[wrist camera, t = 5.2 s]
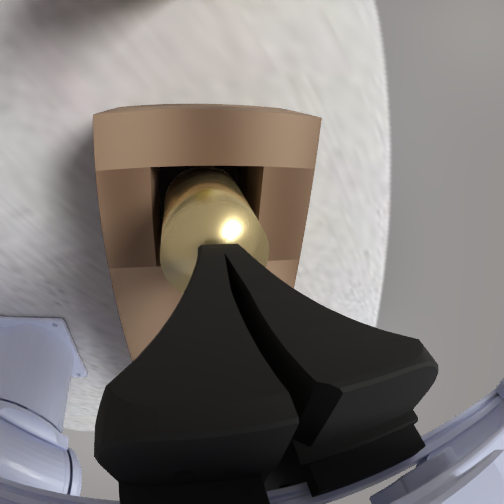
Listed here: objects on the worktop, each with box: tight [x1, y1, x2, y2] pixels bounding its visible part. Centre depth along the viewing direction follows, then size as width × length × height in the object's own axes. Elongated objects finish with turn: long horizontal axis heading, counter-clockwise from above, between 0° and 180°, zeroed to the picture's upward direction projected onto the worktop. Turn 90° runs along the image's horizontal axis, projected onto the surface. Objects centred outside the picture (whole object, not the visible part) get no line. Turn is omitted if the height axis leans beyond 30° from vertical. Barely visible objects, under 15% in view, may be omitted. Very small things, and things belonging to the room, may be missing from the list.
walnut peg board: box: [93, 104, 322, 362], centre depth 19 cm, size 10×22×6 cm, turn 175°
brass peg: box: [160, 166, 269, 294], centre depth 13 cm, size 4×4×6 cm
